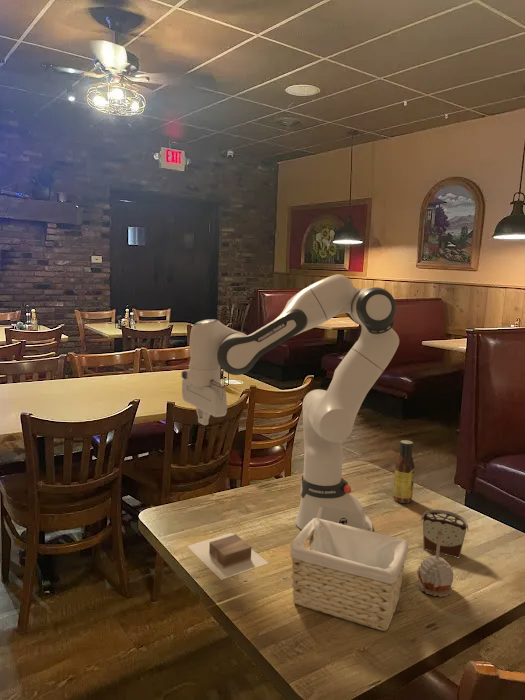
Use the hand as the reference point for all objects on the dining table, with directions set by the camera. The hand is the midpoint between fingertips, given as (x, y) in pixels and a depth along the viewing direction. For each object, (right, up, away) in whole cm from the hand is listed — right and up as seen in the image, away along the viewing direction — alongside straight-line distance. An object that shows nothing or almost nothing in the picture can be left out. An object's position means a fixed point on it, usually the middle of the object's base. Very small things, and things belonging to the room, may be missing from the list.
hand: (203, 423), depth 157 cm
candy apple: (+58, -37, -25) cm, 73 cm away
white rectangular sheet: (+8, -32, -15) cm, 36 cm away
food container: (+67, -34, -6) cm, 75 cm away
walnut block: (+7, -30, -13) cm, 33 cm away
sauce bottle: (+63, -28, +23) cm, 73 cm away
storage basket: (+36, -37, -31) cm, 60 cm away
